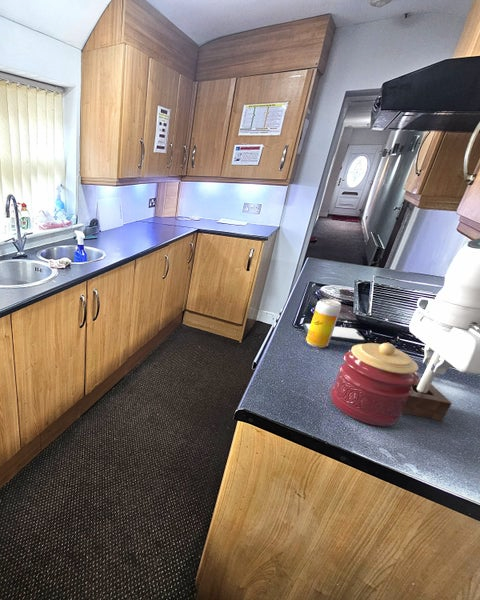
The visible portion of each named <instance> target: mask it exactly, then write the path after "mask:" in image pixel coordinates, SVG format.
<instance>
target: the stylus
mask: <svg viewBox="0 0 480 600" xmlns="http://www.w3.org/2000/svg"><path fill="white" fill-rule="evenodd" d="M439 358H440V355H438V354H437V353H436V352H434V354H433V356H432V358H431V360H430V362H429V364H428V366H426V368H425V370H424V372H423V375H422V377H420V378H421V380H420V382H419V384H418V386H417V388H416V389H417V390H418V392H417V393H421V394H424V393H427V391H428V389H429V387H430V385H431V384H433V382H434V380H435V377H436V376H437V374H435V373H434V372H433V371H432V370H431V368H432V365H433V364H438V363H439V362H440V360H439Z"/></svg>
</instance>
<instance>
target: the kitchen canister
mask: <svg viewBox="0 0 480 600" xmlns="http://www.w3.org/2000/svg"><path fill="white" fill-rule="evenodd" d="M350 350H351V351H349V352H348V351H347V352H346V353H344V355H343V361H344V363H342V364H340V365H339V367H338V373H337V376H336V378H335V380H334V383H333V385H332V386H331V388H330V394H329V395H330V396H329V397H330V401H331V402H332V403H333V405H334V406H335V407H336V408H337V409H338V410H339V411H341V412H342V413H344V414H345V415H346V416H349V417H350V418H353V419H355V420H357V421H359V422H363V423H364V424H365V423H366V424H367V425H374V426H380V427H388V426H392V425H395V423H397V421H398V420H400V419H401V416H402V415H403V413H402V410H403V408H404V406H405V404H406V402H407V400H408V398H409V396H410V395H411V394H412V392H413V389H412V385H414V384H416V383H417V382H418V381H419V377H420V375H419V374H418V372H417V371H418V370H419V365H418V363H417V362H416V360H414V359H412V358H411V357H410V356H409V355H408V354H407V353H405V352H404V351H402V350H400V349H397V348H396V347H395V345H393V344H392V343H390V342H383V343H373V342H367V343H357V344H355V345H353V346H352V347H351V349H350Z"/></svg>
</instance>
